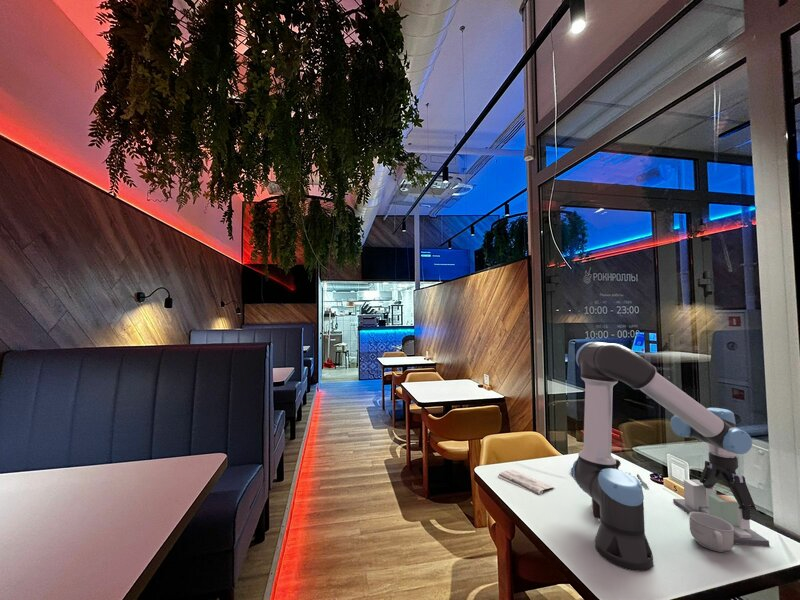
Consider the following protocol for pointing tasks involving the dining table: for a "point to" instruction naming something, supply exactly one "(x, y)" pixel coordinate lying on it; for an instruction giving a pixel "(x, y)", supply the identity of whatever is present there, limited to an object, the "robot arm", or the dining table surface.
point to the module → (724, 508)
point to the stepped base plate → (697, 503)
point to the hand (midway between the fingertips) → (727, 517)
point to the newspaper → (524, 481)
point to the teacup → (711, 531)
